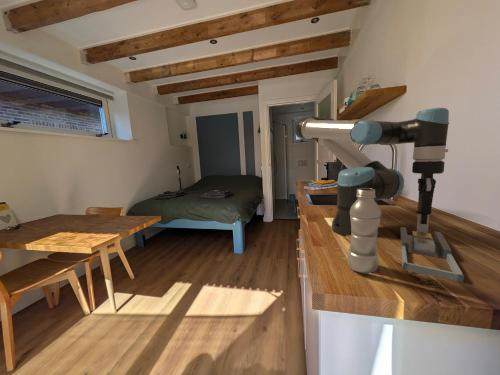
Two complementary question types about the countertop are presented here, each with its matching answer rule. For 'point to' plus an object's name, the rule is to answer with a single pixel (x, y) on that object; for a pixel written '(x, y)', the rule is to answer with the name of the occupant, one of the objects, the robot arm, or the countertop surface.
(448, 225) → the countertop surface
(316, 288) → the countertop surface
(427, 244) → the steel block
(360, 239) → the plastic bottle
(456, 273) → the grey u-shaped frame
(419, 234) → the brass block
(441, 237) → the channel
